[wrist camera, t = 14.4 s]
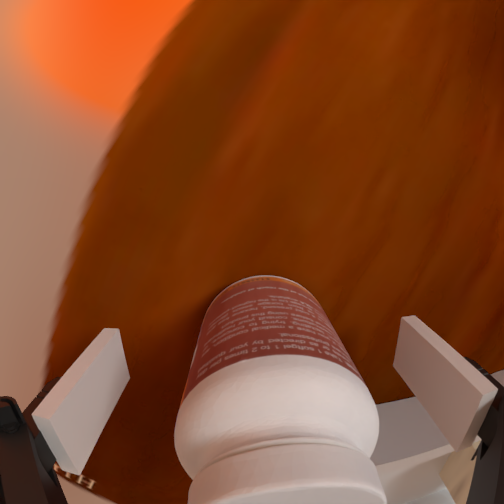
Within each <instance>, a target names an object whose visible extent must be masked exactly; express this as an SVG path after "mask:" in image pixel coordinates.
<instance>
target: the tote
mask: <svg viewBox="0 0 504 504" xmlns="http://www.w3.org/2000/svg"><path fill="white" fill-rule="evenodd" d="M490 375H491V376H492V377H494V378H495V379H496V380H497V381H498V382H499V383H500V384H501V385H502V386H503V387H504V370H501V371H498V372H496V373H493V374H490ZM376 408H377V411H378V416H379V435H378V439H377V443H376V446H375V449H374V451H373V453H372V455H371V457H370V460H371V461H372V462H373V463H374V465H375V467H376V469H377V472H378V476H379V479H380V482H381V484H382V487H383V490H384V493H385V496H386V499H387V504H456V503H455V502H454V500H453V498H452V496H451V495H450V493H449V491H448V489H447V488H446V486H445V484H444V482H443V481H442V479H441V477H440V475H439V473H440V472H441V470H442V468H443V466H444V465H445V463H446V461H447V459H448V457H449V455H450V454H451V452H453V451H455V450H454V449H453V447H452V446H451V445H450V443H449V442H448V440H447V439H446V437H445V436H444V435H443V433H442V432H441V430H440V429H439V428H438V426H437V425H436V423H435V422H434V421H433V419H432V418H431V417H430V415H429V414H428V412H427V411H426V410H425V408H424V407H423V406H422V404H421V403H420V402H419V400H418V399H417V397H411V398H407V399H402V400H398V401H393V402H388V403H383V404H378V405H376ZM480 440H481V438H480V437H479V436H478V435H477V436H476V438H475V440H474V442H473V443H475V442H477V441H480Z"/></svg>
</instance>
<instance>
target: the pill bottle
mask: <svg viewBox="0 0 504 504" xmlns="http://www.w3.org/2000/svg"><path fill="white" fill-rule="evenodd" d="M378 435H379V416H378V411H377V408H376V405H375V403H374V400H373V398H372V396H371V394H370V392H369V390H368V388H367V386H366V384H365V382H364V380H363V379H362V377H361V375H360V374H359V372H358V370H357V368H356V367H355V365H354V363H353V361H352V360H351V358H350V356H349V354H348V352H347V351H346V349H345V347H344V346H343V344H342V342H341V340H340V338H339V337H338V335H337V333H336V331H335V330H334V328H333V326H332V324H331V323H330V321H329V319H328V318H327V316H326V314H325V312H324V310H323V309H322V307H321V305H320V304H319V302H318V301H317V300H316V299H315V297H314V296H313V295H312V294H311V293H310V292H309V291H307V290H306V289H305V288H304V287H302V286H301V285H299V284H298V283H296V282H294V281H291V280H289V279H286V278H282V277H278V276H270V275H260V276H253V277H248V278H245V279H242V280H239V281H237V282H235V283H233V284H231V285H230V286H228V287H227V288H226V289H224V290H223V291H222V292H221V293H220V294H218V296H217V297H216V298H215V299H214V300H213V301H212V303H211V304H210V306H209V308H208V310H207V312H206V314H205V317H204V319H203V323H202V326H201V330H200V334H199V337H198V341H197V345H196V348H195V352H194V356H193V358H192V363H191V366H190V370H189V373H188V378H187V382H186V386H185V389H184V392H183V396H182V400H181V404H180V407H179V411H178V415H177V420H176V425H175V432H174V443H175V449H176V453H177V456H178V459H179V461H180V463H181V465H182V466H183V468H184V470H185V471H186V472H187V474H188V475H189V476H190V477H191V479H192V480H193V481H192V483H191V485H190V488H189V493H188V504H387V499H386V496H385V493H384V490H383V487H382V484H381V482H380V479H379V476H378V472H377V469H376V467H375V465H374V463H373V462H372V461H371V460H370V457H371V455H372V453H373V451H374V449H375V446H376V443H377V439H378Z"/></svg>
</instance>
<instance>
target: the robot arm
mask: <svg viewBox="0 0 504 504" xmlns="http://www.w3.org/2000/svg"><path fill="white" fill-rule="evenodd" d="M393 367H394V368H395V369H396V371H397V372H398V373H399V375H400V376H401V377H402V379H403V380H404V381H405V383H406V384H407V385H408V387H409V388H410V389H411V391H412V392H413V393H414V395H415V396H416V397H417V399H418V400H419V402H420V403H421V404H422V406H423V407H424V408H425V410H426V411H427V412H428V414H429V415H430V417H431V418H432V419H433V421H434V422H435V423H436V425H437V426H438V428H439V429H440V430H441V432H442V433H443V435H444V436H445V437H446V439H447V440H448V442H449V443H450V445H451V446H452V447H453V449H454V450H455V452H456V453H457V452H459V451H461V450H464V449H466V448H469V447H471V446H472V444H473V442H474V440H475V438H476V436H477V435H478V436H479V437H480V438H481V442H480V444H479V446H478V448H477V449H476V451H475V453H474V455H473V456H472V459H471V460H472V461H473V460H474V458H475V457H476V456H477V457H476V463H475V468H474V472H473V477H472V481H471V486H470V490H469V494H468V497H467V501H466V504H504V387H503V386H502V385H501V384H500V383H499V382H498V381H497V380H496V379H495V378H494V377H492V376H491V375H490V374H488V372H487V371H486V370H485V369H482V367H481V366H480V365H479V364H478V363H477V362H475V361H473V360H471V359H469V358H467V357H463V356H461V355H460V354H459V353H458V352H457V351H456V350H455V349H453V348H452V347H451V346H450V345H449V344H448V343H447V342H445V341H444V340H443V339H442V338H441V337H440V336H438V335H437V334H436V333H435V332H434V331H433V330H431V329H430V328H429V327H428V326H427V325H426V324H424V323H423V322H422V321H421V320H420V319H418V318H417V317H416V316H415V315H414V316H406V317H401V323H400V329H399V336H398V341H397V347H396V352H395V358H394V363H393ZM129 379H130V376H129V372H128V368H127V363H126V359H125V355H124V351H123V346H122V341H121V337H120V332H119V329H114V328H104V329H103V330H102V331H101V333H100V334H99V335H98V336H97V337H96V338H95V339H94V340H93V342H92V343H91V344H90V345H89V346H88V347H87V348H86V350H85V351H84V352H83V353H82V354H81V355H80V356H79V358H78V359H77V360H76V361H75V362H74V363H73V365H72V366H71V367H70V368H69V369H68V370H67V372H66V373H65V374H64V375H63V376H62V378H61V377H56V378H55V379H53V380H52V381H50V382H48V383H47V384H46V386H45V387H44V388H43V389H42V392H41V391H40V393H39V394H38V395H37V398H36V397H35V399H34V400H33V401H32V402H31V403H30V404H29V406H28V407H27V408H26V409H25V410H24V412H23V413H21V410H20V408H19V406H18V404H17V402H16V400H15V399H14V398H12V397H8V396H3V397H0V504H68V503H67V501H66V498H65V496H64V493H63V490H62V488H61V485H60V483H59V480H58V477H57V475H56V472H55V471H54V469H53V465H54V463H55V461H57V462H58V464H59V466H60V467H61V469H62V470H63V471H66V472H69V473H73V474H76V475H81V473H82V470H83V468H84V466H85V464H86V462H87V460H88V458H89V456H90V454H91V452H92V450H93V448H94V446H95V444H96V442H97V440H98V438H99V436H100V434H101V432H102V430H103V428H104V426H105V424H106V423H107V421H108V419H109V417H110V415H111V413H112V411H113V409H114V407H115V405H116V403H117V401H118V400H119V398H120V396H121V394H122V392H123V390H124V388H125V386H126V385H127V383H128V381H129Z"/></svg>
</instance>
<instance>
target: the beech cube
mask: <svg viewBox="0 0 504 504" xmlns="http://www.w3.org/2000/svg"><path fill="white" fill-rule="evenodd" d="M480 442H481V440H480V441H477V442H475V443H473V444H472V446H471V447H469V448H466V449H464V450H461V451H459V452H457V453H456V452H455V451H453V452H451V454H450V455H449V457H448V459H447V461H446V463H445V465H444V466H443V468H442V470H441V472H440V473H439V475H440V477H441V479H442V481H443V482H444V484H445V486H446V488H447V489H448V491H449V493H450V495H451V496H452V498H453V500H454V502H455V503H456V504H466V501H467V497H468V494H469V490H470V486H471V481H472V477H473V472H474V468H475V463H476V457H477V456H476V457H475V458H474V460H473V461H472V460H471V459H472V456H473V455H474V453H475V451H476V449H477V448H478V446H479V444H480Z"/></svg>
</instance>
